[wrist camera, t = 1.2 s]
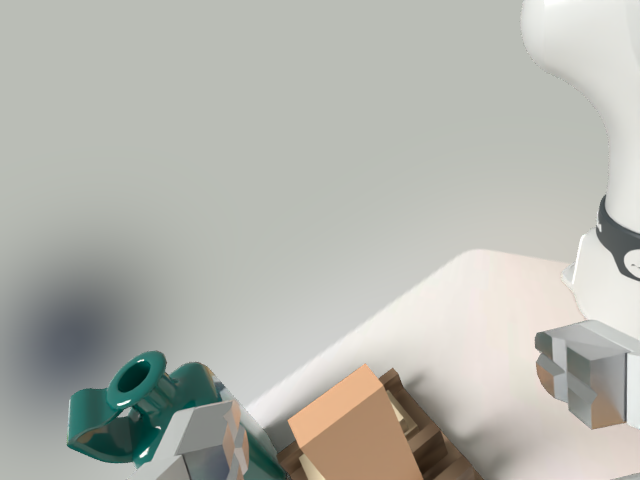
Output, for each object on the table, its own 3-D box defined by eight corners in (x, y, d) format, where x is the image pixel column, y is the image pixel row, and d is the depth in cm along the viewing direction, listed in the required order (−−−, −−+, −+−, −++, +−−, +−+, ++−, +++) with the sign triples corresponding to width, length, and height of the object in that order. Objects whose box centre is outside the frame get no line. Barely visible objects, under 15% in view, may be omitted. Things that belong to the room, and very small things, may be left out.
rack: (400, 388, 43) (389, 357, 40) (497, 499, 32) (492, 470, 28) (291, 472, 40) (268, 447, 36) (355, 630, 28) (330, 616, 25)
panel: (419, 482, 34) (365, 363, 23) (433, 503, 32) (383, 385, 21) (369, 525, 32) (287, 420, 21) (382, 548, 31) (300, 448, 20)
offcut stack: (392, 401, 41) (382, 377, 38) (421, 436, 37) (413, 413, 34) (306, 467, 38) (289, 447, 35) (327, 514, 34) (310, 495, 31)
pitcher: (263, 425, 45) (168, 316, 34) (293, 482, 39) (188, 371, 27) (197, 482, 42) (67, 385, 31) (218, 553, 36) (61, 465, 24)
